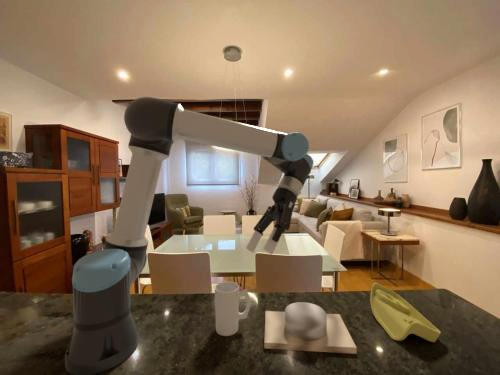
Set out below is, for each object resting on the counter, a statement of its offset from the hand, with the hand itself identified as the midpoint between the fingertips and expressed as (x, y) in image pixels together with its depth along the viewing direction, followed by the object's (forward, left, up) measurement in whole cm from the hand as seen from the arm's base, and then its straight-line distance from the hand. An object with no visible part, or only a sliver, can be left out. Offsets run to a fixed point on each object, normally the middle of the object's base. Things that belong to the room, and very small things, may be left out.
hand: (257, 251), depth 68 cm
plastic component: (+41, +3, -21) cm, 46 cm away
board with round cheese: (+13, -5, -21) cm, 25 cm away
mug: (-7, -5, -21) cm, 22 cm away
